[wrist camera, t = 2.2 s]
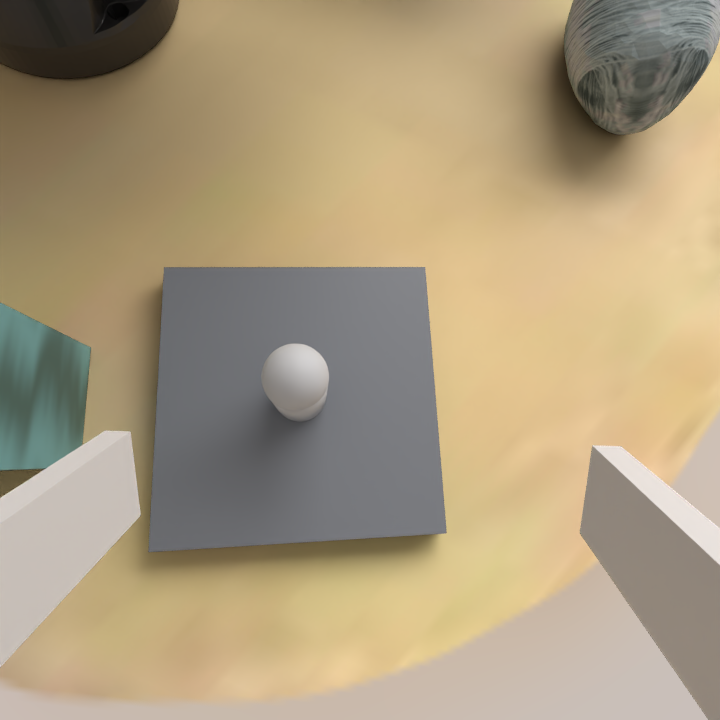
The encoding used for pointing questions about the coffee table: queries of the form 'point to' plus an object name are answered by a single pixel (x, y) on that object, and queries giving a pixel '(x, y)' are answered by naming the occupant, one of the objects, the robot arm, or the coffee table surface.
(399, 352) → the hub plate
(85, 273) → the coffee table surface
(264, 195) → the coffee table surface
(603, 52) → the grey rounded piece
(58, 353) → the sleeve
